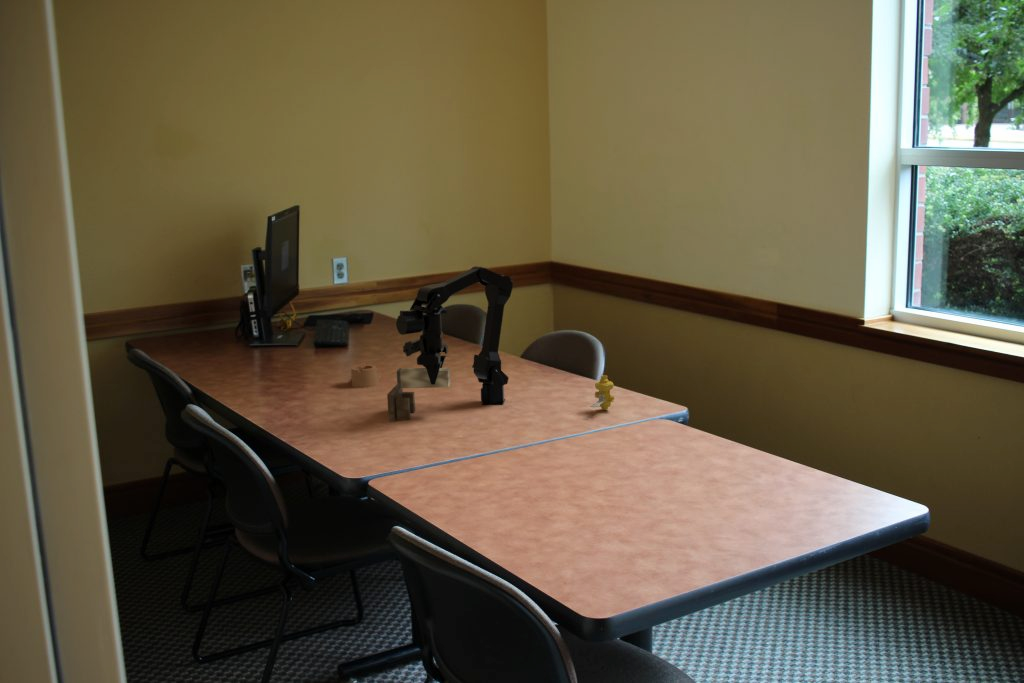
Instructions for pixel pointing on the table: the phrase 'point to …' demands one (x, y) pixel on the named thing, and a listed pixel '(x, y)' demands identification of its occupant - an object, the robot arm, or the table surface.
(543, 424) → the table surface
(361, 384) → the bracket
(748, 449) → the table surface
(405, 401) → the headboard
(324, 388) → the table surface
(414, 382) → the rail
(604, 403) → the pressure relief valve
